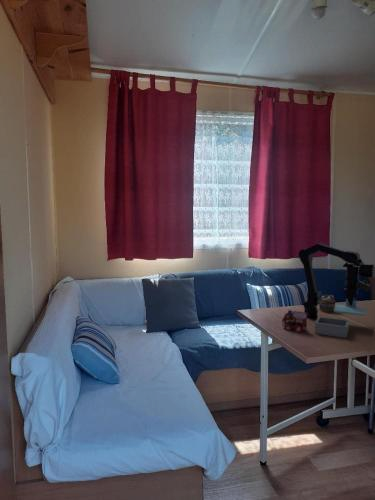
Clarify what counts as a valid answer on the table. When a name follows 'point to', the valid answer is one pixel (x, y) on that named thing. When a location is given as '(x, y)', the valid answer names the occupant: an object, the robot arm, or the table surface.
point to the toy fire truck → (295, 321)
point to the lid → (350, 309)
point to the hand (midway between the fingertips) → (350, 305)
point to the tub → (331, 327)
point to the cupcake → (327, 303)
